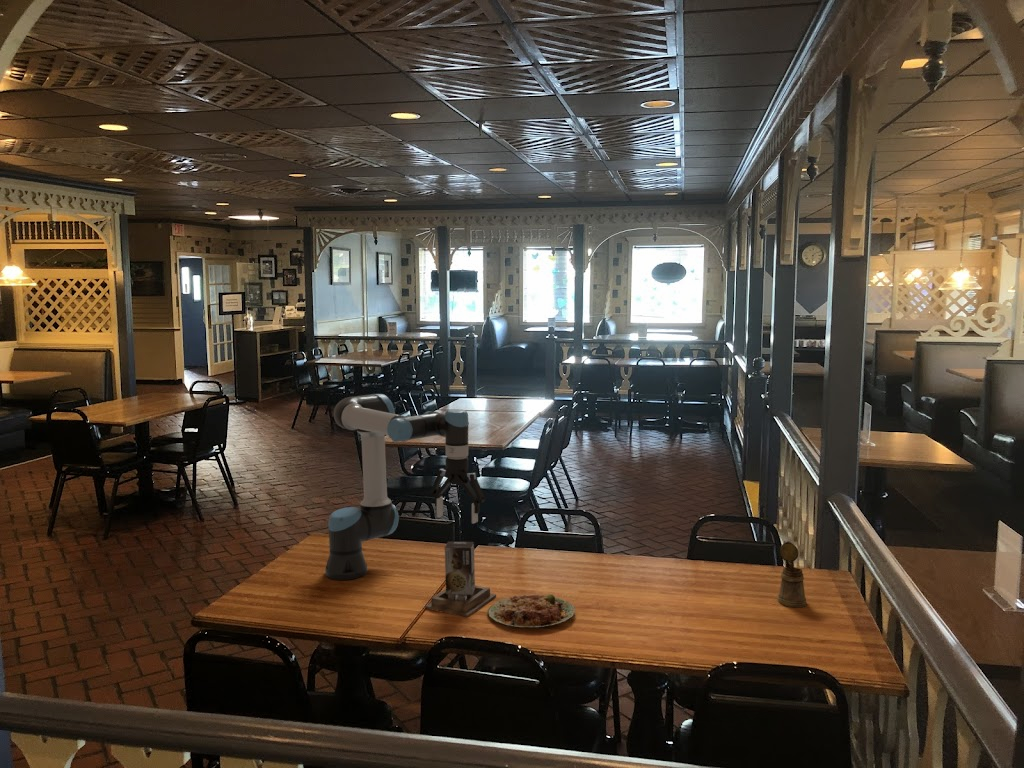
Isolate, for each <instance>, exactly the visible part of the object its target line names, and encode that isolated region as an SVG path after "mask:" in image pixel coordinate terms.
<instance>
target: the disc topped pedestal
mask: <svg viewBox="0 0 1024 768" xmlns="http://www.w3.org/2000/svg"><path fill="white" fill-rule="evenodd" d="M779 555H780V558H781V559H782V560H783V561H784V562H785V567H783V568H782V571H781V574H780V578H781V582H780V587H779V593H778V594H777V602H778V603H779V604H780V605H782V606H785V607H790V608H803V607H806V606H807V604H808V603H807V598H806V594H805V586H804V584H805V583H804V580H805V577H804V572H803V570H802V568H798V567H795V564H794V561H796V560H797V559H798V558H799V549H798V548H797V546H796V545H795V544H794V543H792V542H791V541H789V540H788V541H785V542H784V543H783V544H781V546H779Z"/></svg>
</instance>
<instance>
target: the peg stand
mask: <svg viewBox="0 0 1024 768" xmlns="http://www.w3.org/2000/svg"><path fill="white" fill-rule="evenodd" d="M496 597H497V594H495V593H491V589H490V587H486V586H482V585H476V584H475V590H474V592H473V595H460V594H446V588H445V589H444V590H442V591H440V592H438V593H436V595H434V596H432V597H431V599H430V600H431V601H430V602H429V603H428V604H426V605H425V606H424V609H425V608H428V609H427V610H430V609H433V610H432V611H435V610H438V611H437V612H439V611H442V612H441V613H444V612H447V613H446V614H449V613H451V614H450V615H454V614H455V616H458V615H459V617H463V618H469V617H471V616H472V615H473V614H475V613H476V612H477V611H479V610H480V609H481V608H483V607H484V606H485V604H486V605H487V604H488V603H491V601H492V600H494V599H495V598H496ZM482 606H483V607H482ZM478 609H479V610H478Z"/></svg>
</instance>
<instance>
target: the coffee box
mask: <svg viewBox="0 0 1024 768" xmlns="http://www.w3.org/2000/svg"><path fill="white" fill-rule="evenodd" d="M444 566H445V567H444V568H445V569H444V570H445V589H446V594H460V595H473V592H474V590H475V585H476V575H475V573H476V570H475V542H474V541H447V542H446V545H445V546H444Z"/></svg>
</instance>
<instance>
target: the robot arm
mask: <svg viewBox="0 0 1024 768" xmlns="http://www.w3.org/2000/svg"><path fill="white" fill-rule="evenodd" d="M468 413H469V412H467V410H465V409H459V408H458V409H455V408H454V409H448V410H447V409H446V411H445V413H441V412H438V411H434V410H433V411H425V412H424V413H423V414H420V415H412V416H410V415H409V416H405V415H400V414H396V413H395V407H394V404H393V402H392V400H391V399H390V398H389V397H388V396H387V395H385V394H384V393H371V394H369V393H368V394H363V395H356V396H355V395H354V396H348V397H345V398H342V399H341V400H339V401H338V403H337V404H336V405H335V407H334V408H333V419H334V422H335V423H336V424H337V425H338V426H339V427H341V429H346V430H349V431H356V432H357V433H358V434H359V435H360V436H361V437H360V438H361V439H360V440H361V456H362V457H361V458H362V460H361V461H362V479H363V482H362V485H363V499H362V500H361V501H360V507H355V506H349V507H343V508H339V509H336V510H334V511H333V512H332V513H331V514H330V515H329V517H328V525H327V527H328V528H327V529H328V538H329V541H328V543H329V555H328V558H327V561H326V566H325V568H324V569H325V570H324V571H325V577H326V578H328V579H331V580H334V581H335V580H336V581H349V580H355V579H359V578H362V577H364V576H365V575H367V574H368V564H367V562H366V560H365V556H364V553H363V544H362V543H363V542H367V541H370V540H371V541H372V540H374V539H378V538H383V537H386V536H389V535H392V534H393V533H394V532H395V531H396V530H397V527H398V526H399V525H398V524H399V511H398V509H397V507H396V506H395V505H394V504H393V503H392V500H391V498H389V497H388V485H387V462H386V460H387V459H386V436H387V437H389V438H390V439H391V441H393V442H396V443H397V442H406V441H409V440H410V441H411V440H417V439H421V438H429V437H434V436H438V437H443V438H445V442H444V443H445V444H444V445H445V468H444V467H443V468H439V469H437V473H436V474H437V475H436V476H435V477H436V478H435V479H434V482H433V484H432V486H431V489H430V491H429V495H430V496H432V497H434V506H435V508H436V518H441V517H443V516H444V496H442V495H443V494H444V492H445V491H446V490H447V489H448V487H450V485H456V486H459V487H460V486H461V488H463V489H464V490H465V492H466V493H467V496H468V497H469V498H470V500H471V501H472V502H473V503H471V524H476V523H478V522H479V515H478V514H479V513H480V512H481V510H480V509H481V504H482V503H484V502H485V501H486V498H485V495H484V493H483V492H484V491H483V489H482V487H481V485H480V482H479V481H478V475H477V472H471V473H470V472H469V457H468V456H469V426H470V425H469V423H470V422H469V414H468ZM444 477H446V479H445V481H444V482H443V479H444ZM469 480H470V481H469ZM442 482H443V484H441V483H442Z"/></svg>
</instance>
